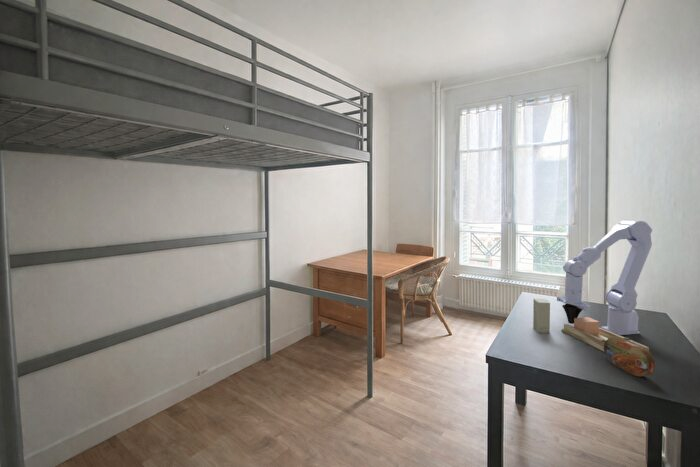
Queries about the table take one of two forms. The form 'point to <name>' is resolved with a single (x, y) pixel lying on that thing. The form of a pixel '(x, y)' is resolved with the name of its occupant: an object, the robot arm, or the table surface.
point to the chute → (596, 337)
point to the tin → (629, 357)
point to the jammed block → (587, 325)
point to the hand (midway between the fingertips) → (571, 323)
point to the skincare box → (541, 315)
